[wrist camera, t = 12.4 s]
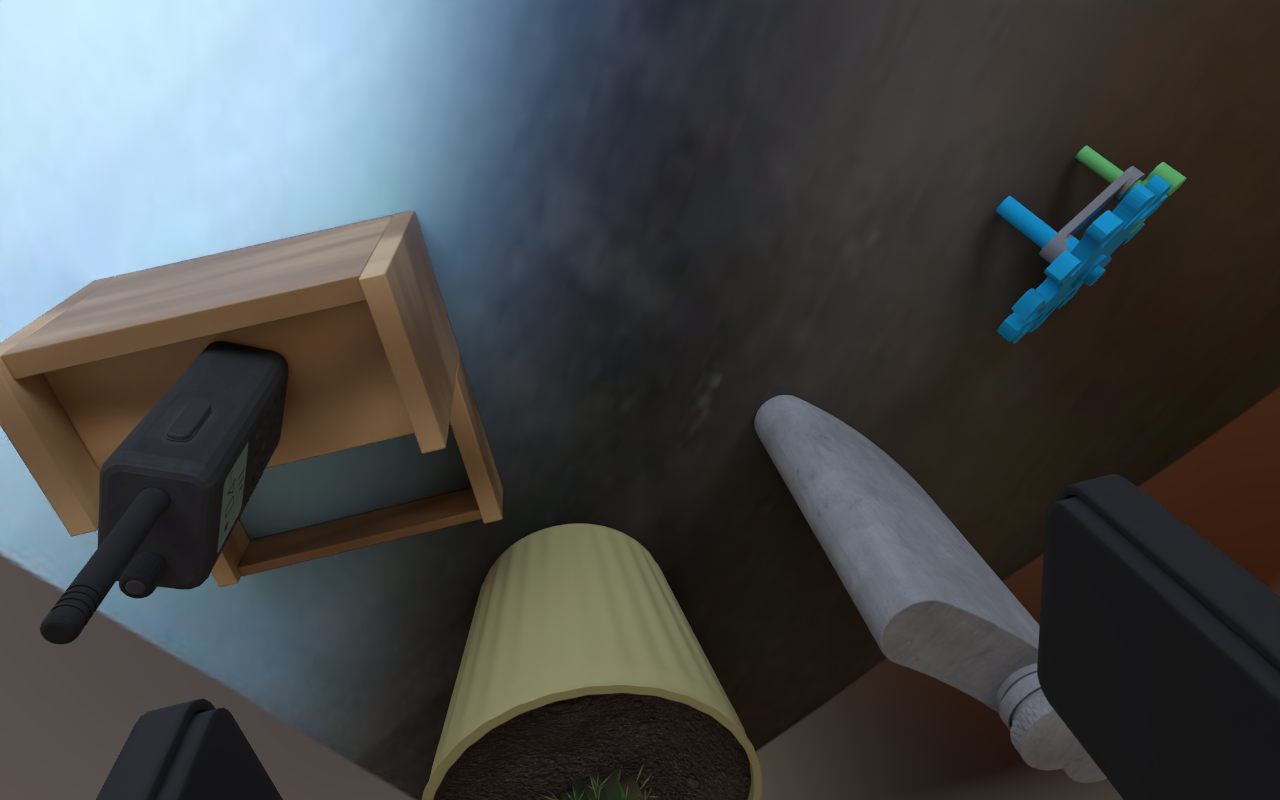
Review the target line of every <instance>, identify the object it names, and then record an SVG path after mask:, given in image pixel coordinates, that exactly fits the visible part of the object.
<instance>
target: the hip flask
mask: <svg viewBox="0 0 1280 800" xmlns="http://www.w3.org/2000/svg"><path fill="white" fill-rule="evenodd" d="M754 426H755V430H756V433H757V435H758V437H759V438H760V440H761V442H762V443H763V445H764V447H765V449H766V450H767V452H768V454H769V456H770V457H771V459H772V461H773V463H774V464H775V466H776V468H777V470H778V471H779V473H780V475H781V477H782V478H783V480H784V482H785V484H786V485H787V487H788V489H789V490H790V492H791V494H792V496H793V497H794V499H795V501H796V503H797V504H798V506H799V508H800V510H801V511H802V513H803V515H804V517H805V518H806V520H807V522H808V524H809V525H810V527H811V529H812V531H813V532H814V534H815V536H816V537H817V539H818V541H819V543H820V544H821V546H822V548H823V550H824V551H825V553H826V555H827V557H828V558H829V560H830V562H831V564H832V565H833V567H834V569H835V571H836V572H837V574H838V576H839V578H840V579H841V581H842V583H843V584H844V586H845V588H846V590H847V591H848V593H849V595H850V597H851V598H852V600H853V602H854V604H855V605H856V607H857V609H858V611H859V612H860V614H861V616H862V618H863V619H864V621H865V623H866V625H867V626H868V628H869V630H870V631H871V633H872V635H873V637H874V638H875V640H876V642H877V644H878V645H879V647H880V649H881V651H882V652H883V654H884V655H885V656H886V657H887V658H888V659H889V660H890V661H892V662H895V663H897V664H899V665H902V666H905V667H908V668H911V669H914V670H917V671H919V672H921V673H924V674H926V675H929V676H931V677H934V678H936V679H938V680H940V681H942V682H945V683H947V684H949V685H951V686H953V687H955V688H957V689H959V690H961V691H963V692H965V693H967V694H968V695H970V696H972V697H974V698H975V699H977V700H979V701H981V702H982V703H984V704H986V705H987V706H989V707H990V708H992V709H993V710H995V711H996V712H998V713H999V714H1000V717H1001V719H1002V720H1003V722H1004V723H1005V724H1006V725H1007V727H1008V729H1009V730H1010V732H1011V734H1010V737H1011V742H1012V743H1013V744H1014V747H1015V748H1016V750H1017V751H1018V752H1019V753H1020V755H1021V757H1022V758H1023V760H1025V761H1026V763H1027V764H1028V765H1030V766H1031V767H1032V768H1037V769H1038V770H1056V769H1063V770H1064V771H1065V772H1066V774H1067V775H1068V776H1069V777H1070V778H1071V779H1072V780H1075V781H1077V782H1081V783H1091V782H1097V781H1101V780H1104V779H1106V778H1107V777H1106V776H1105V775H1104V774H1103V772H1102V771H1101V770H1100V768H1099V767H1098V766H1097V765H1096V763H1095V762H1094V761H1093V759H1092V758H1091V757H1090V755H1089V754H1088V753H1087V752H1086V750H1085V749H1084V748H1083V746H1082V745H1081V744H1080V743H1079V741H1078V740H1077V739H1076V737H1075V736H1074V735H1073V733H1072V732H1071V731H1070V730H1069V728H1068V727H1067V726H1066V724H1065V723H1064V722H1063V721H1062V719H1061V718H1060V717H1059V715H1058V714H1057V713H1056V711H1055V710H1054V709H1053V708H1052V706H1051V705H1050V704H1049V702H1048V701H1047V699H1046V697H1045V695H1044V693H1043V691H1042V689H1041V686H1040V684H1039V680H1038V675H1037V662H1038V645H1039V628H1040V626H1039V624H1038V623H1037V622H1036V621H1035V620H1034V619H1033V618H1032V616H1031V615H1030V614H1029V613H1028V612H1027V610H1026V609H1025V608H1024V607H1023V606H1022V605H1021V604H1020V602H1019V601H1018V600H1017V599H1016V597H1014V595H1013V594H1012V593H1011V592H1010V590H1009V589H1008V588H1007V587H1006V586H1005V585H1004V583H1003V582H1002V581H1001V580H1000V579H999V578H998V576H997V575H996V574H995V573H994V572H993V570H992V569H991V568H990V567H989V566H988V565H987V563H986V562H985V561H984V560H983V559H982V558H981V556H980V555H979V554H978V553H977V552H976V551H975V549H974V548H973V547H972V546H971V545H970V543H969V542H968V541H967V540H966V539H965V538H964V536H963V535H962V534H961V533H960V532H959V531H958V529H957V528H956V527H955V526H954V525H953V523H952V522H951V521H950V520H949V519H948V518H947V516H946V515H945V514H944V513H943V512H942V511H941V509H940V508H939V507H938V506H937V505H936V504H935V502H934V501H933V500H932V499H931V498H930V496H929V495H928V494H927V493H926V492H925V491H924V490H923V488H922V487H921V486H920V485H919V484H918V483H917V482H916V481H915V480H914V479H913V478H912V477H911V476H910V475H909V474H908V473H907V472H906V471H905V470H904V469H903V468H902V467H901V466H900V465H899V464H898V463H897V462H896V461H894V460H893V459H892V458H891V457H890V456H889V455H887V454H886V453H885V452H884V451H883V450H881V449H880V448H879V447H877V446H876V445H875V444H874V443H872V442H871V441H870V440H869V439H867V438H866V437H864V436H863V435H862V434H860V433H859V432H857V431H856V430H855V429H853V428H851V427H850V426H848V425H847V424H845V423H844V422H842V421H841V420H839V419H837V418H836V417H834V416H832V415H831V414H829V413H827V412H825V411H823V410H821V409H820V408H818V407H816V406H814V405H812V404H810V403H808V402H806V401H804V400H801V399H799V398H797V397H795V396H792V395H780V396H776V397H774V398H771V399H769V400H768V401H766V402H765V403H764V404H763V405H762V406H761V407H760V409H759V410H758V412H757V414H756V417H755V422H754Z"/></svg>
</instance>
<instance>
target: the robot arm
mask: <svg viewBox="0 0 1280 800" xmlns="http://www.w3.org/2000/svg"><path fill="white" fill-rule="evenodd" d="M1037 675H1038V680H1039V684H1040V686H1041V689H1042V691H1043V693H1044V695H1045V697H1046V699H1047V701H1048V702H1049V704H1050V705H1051V706H1052V708H1053V709H1054V710H1055V711H1056V713H1057V714H1058V715H1059V717H1060V718H1061V719H1062V721H1063V722H1064V723H1065V724H1066V726H1067V727H1068V728H1069V730H1070V731H1071V732H1072V733H1073V735H1074V736H1075V737H1076V739H1077V740H1078V741H1079V743H1080V744H1081V745H1082V746H1083V748H1084V749H1085V750H1086V752H1087V753H1088V754H1089V755H1090V757H1091V758H1092V759H1093V761H1094V762H1095V763H1096V765H1097V766H1098V767H1099V768H1100V770H1101V771H1102V772H1103V774H1104V775H1105V776H1106V777H1107V779H1108V780H1109V781H1110V783H1111V784H1112V785H1113V787H1114V788H1115V789H1116V790H1117V791H1118V793H1119V794H1120V796H1121V797H1122V798H1123V799H1124V800H1280V596H1278V595H1277V594H1276V593H1274V592H1273V591H1272V590H1270V589H1269V588H1268V587H1267V586H1265V585H1264V584H1263V583H1261V582H1260V581H1259V580H1257V579H1256V578H1255V577H1253V576H1252V575H1251V574H1250V573H1248V572H1247V571H1246V570H1244V569H1243V568H1242V567H1241V566H1239V565H1238V564H1237V563H1235V562H1234V561H1233V560H1231V559H1230V558H1229V557H1228V556H1226V555H1225V554H1224V553H1222V552H1221V551H1220V550H1218V549H1217V548H1216V547H1214V546H1213V545H1212V544H1211V543H1209V542H1208V541H1207V540H1205V539H1204V538H1203V537H1202V536H1200V535H1199V534H1198V533H1196V532H1195V531H1194V530H1192V529H1191V528H1190V527H1188V526H1187V525H1186V524H1185V523H1183V522H1182V521H1180V520H1179V519H1178V518H1177V517H1175V516H1174V515H1173V514H1171V513H1170V512H1169V511H1168V510H1166V509H1165V508H1164V507H1162V506H1161V505H1160V504H1159V503H1157V502H1156V501H1155V500H1153V499H1152V498H1151V497H1149V496H1148V495H1147V494H1145V493H1144V492H1143V491H1141V490H1140V489H1139V488H1138V487H1136V486H1135V485H1134V484H1133V483H1131V482H1130V481H1129V480H1127V479H1125V478H1124V477H1122V476H1120V475H1114V474H1111V475H1107V476H1103V477H1099V478H1095V479H1091V480H1087V481H1083V482H1079V483H1075V484H1071V485H1067V486H1065V487H1062V489H1061V490H1060V492H1059V493H1058V498H1057V501H1056V502H1053V503H1051V504H1050V505H1049V506H1048V508H1047V512H1046V526H1045V543H1044V561H1043V577H1042V594H1041V612H1040V628H1039V645H1038V662H1037ZM96 800H283V799H282V798H281V796H280V794H279V793H278V791H277V789H276V787H275V786H274V784H273V782H272V781H271V779H270V778H269V776H268V774H267V772H266V771H265V769H264V768H263V766H262V764H261V762H260V761H259V759H258V758H257V756H256V754H255V753H254V751H253V749H252V747H251V746H250V744H249V742H248V741H247V739H246V737H245V736H244V734H243V732H242V731H241V729H240V727H239V726H238V724H237V723H236V721H235V719H234V718H233V716H232V714H231V713H230V712H229V711H228V710H226V709H225V708H219V709H215V708H214V706H213V705H212V704H211V703H210V702H208V701H207V700H205V699H201V700H200V699H199V700H194V701H190V702H186V703H182V704H178V705H173V706H169V707H165V708H161V709H158V710H154V711H149V712H147V713H145V714H144V715H143V716H141V717H140V718H139V720H138V721H137V723H136V724H135V726H134V727H133V729H132V731H131V733H130V735H129V737H128V739H127V741H126V743H125V745H124V747H123V749H122V751H121V752H120V755H119V756H118V758H117V760H116V762H115V764H114V766H113V768H112V770H111V772H110V774H109V776H108V777H107V779H106V781H105V783H104V785H103V787H102V789H101V791H100V793H99V795H98V797H97V799H96Z"/></svg>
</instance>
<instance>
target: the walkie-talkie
mask: <svg viewBox="0 0 1280 800" xmlns="http://www.w3.org/2000/svg"><path fill="white" fill-rule="evenodd" d="M288 374H289V370H288V364H287V362H286V360H285V358H284V357H283V356H282V355H281V354H279V353H277V352H274V351H271V350H266V349H261V348H256V347H251V346H246V345H241V344H236V343H231V342H226V341H216V342H213V343H211V344H209V345H208V346H207V347H206V348H205V349H204V350H203V351H202V352H201V354H200V355H199V356H198V357H197V358H196V359H195V360H194V361H193V363H192V364H191V365H190V366H189V367H188V368H187V369H186V370H185V372H184V373H183V374H182V375H181V376H180V377H179V378H178V379H177V381H176V382H175V383H174V384H173V385H172V386H171V387H170V388H169V390H168V391H167V392H166V393H165V394H164V395H163V396H162V398H161V399H160V400H159V401H158V402H157V403H156V404H155V405H154V407H153V408H152V409H151V410H150V411H149V412H148V413H147V414H146V416H145V417H144V418H143V419H142V420H141V421H140V422H139V423H138V425H137V426H136V427H135V428H134V429H133V430H132V431H131V432H130V434H129V435H128V436H127V437H126V438H125V439H124V440H123V441H122V443H121V444H120V445H119V446H118V447H117V448H116V449H115V450H114V452H113V453H112V454H111V455H110V456H109V457H108V458H107V460H106V461H105V462H104V463H103V465H102V468H101V472H100V485H99V521H98V549H97V550H96V552H95V553H94V554H93V556H92V557H91V558H90V560H89V561H88V562H87V564H86V565H85V566H84V568H83V569H82V570H81V571H80V573H79V574H78V575H77V577H76V578H75V579H74V581H73V582H72V583H71V585H70V586H69V587H68V589H67V590H66V592H65V593H64V594H63V595H62V597H61V598H60V599H59V601H58V602H57V603H56V605H55V606H54V607H53V608H52V610H51V611H50V613H49V614H48V615H47V616H46V618H45V619H44V620H43V622H42V624H41V627H40V632H41V634H42V636H43V637H44V638H45V639H46V640H48V641H49V642H51V643H55V644H66V643H70V642H72V641H73V640H75V639H76V638H77V637H78V636H79V634H80V633H81V631H82V630H83V628H84V626H85V625H86V624H87V623H88V621H89V619H90V618H91V617H92V615H93V613H94V612H95V611H96V609H97V608H98V606H99V605H100V604H101V602H102V601H103V599H104V598H105V596H106V595H107V593H108V592H109V590H110V589H111V587H112V586H113V584H114V583H115V582H116V581H119V587H120V589H121V591H122V592H123V593H124V594H125V595H127V596H129V597H132V598H144V597H147V596H149V595H150V594H151V593H153V591H154V590H155V588H156V587H157V586H159V587H167V588H175V589H192V588H195V587H197V586H200V585H201V584H202V583H203V582H204V581H205V580H206V579H207V578H208V577H209V575H210V573H211V571H212V569H213V567H214V565H215V563H216V561H217V559H218V558H219V556H220V554H221V552H222V550H223V548H224V546H225V544H226V542H227V540H228V539H229V537H230V535H231V533H232V531H233V529H234V527H235V525H236V523H237V522H238V520H239V518H240V516H241V514H242V512H243V510H244V508H245V506H246V504H247V503H248V501H249V499H250V497H251V495H252V493H253V491H254V489H255V487H256V485H257V484H258V482H259V480H260V478H261V476H262V474H263V472H264V470H265V468H266V466H267V465H268V463H269V461H270V459H271V457H272V455H273V453H274V451H275V449H276V448H277V446H278V443H279V441H280V437H281V429H282V421H283V413H284V405H285V397H286V389H287V382H288Z"/></svg>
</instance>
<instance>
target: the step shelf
mask: <svg viewBox="0 0 1280 800" xmlns="http://www.w3.org/2000/svg"><path fill="white" fill-rule="evenodd" d="M216 341H226V342H231V343H236V344H241V345H246V346H251V347H256V348H261V349H266V350H271V351H274V352H277V353H279V354H281V355H282V356H283V357H284V358H285V360H286V362H287V364H288V370H289V374H288V382H287V389H286V397H285V405H284V413H283V421H282V429H281V437H280V441H279V443H278V446H277V448H276V449H275V451H274V453H273V455H272V457H271V459H270V461H269V463H268V465H267V466H266V468H269V467H273V466H277V465H281V464H286V463H290V462H294V461H298V460H303V459H307V458H311V457H316V456H320V455H324V454H328V453H333V452H337V451H341V450H345V449H350V448H354V447H358V446H362V445H367V444H371V443H375V442H380V441H384V440H388V439H392V438H397V437H401V436H405V435H409V434H414V433H415V436H416V439H417V441H418V444H419V447H420V449H421V452H422V453H427V452H432V451H436V450H440V449H444V448H446V443H447V435H448V428H449V421H450V424H451V427H452V430H453V433H454V436H455V439H456V442H457V445H458V448H459V451H460V454H461V457H462V460H463V463H464V465H465V468H466V471H467V474H468V477H469V480H470V483H471V486H472V488H469V489H465V490H461V491H456V492H452V493H448V494H444V495H440V496H435V497H431V498H427V499H423V500H419V501H414V502H410V503H406V504H402V505H398V506H393V507H389V508H385V509H381V510H377V511H372V512H368V513H364V514H360V515H356V516H351V517H347V518H343V519H339V520H335V521H330V522H326V523H322V524H318V525H314V526H309V527H305V528H301V529H297V530H293V531H288V532H284V533H280V534H276V535H272V536H267V537H263V538H259V539H255V540H251V541H250V540H249V538H248V536H247V534H246V532H245V530H244V528H243V526H242V524H241V522H240V520H238V522H237V523H236V525H235V527H234V529H233V531H232V533H231V535H230V537H229V539H228V540H227V542H226V544H225V546H224V548H223V550H222V552H221V554H220V556H219V558H218V559H217V561H216V563H215V565H214V567H213V569H212V571H211V573H212V575H213V577H214V578H215V580H216V582H217V584H218V586H219V587H223V586H227V585H231V584H235V583H238V582H239V579H240V577H241V576H246V575H250V574H254V573H258V572H263V571H267V570H271V569H275V568H279V567H283V566H288V565H292V564H296V563H300V562H304V561H308V560H313V559H317V558H321V557H325V556H329V555H333V554H338V553H342V552H346V551H350V550H354V549H358V548H363V547H367V546H371V545H375V544H379V543H383V542H388V541H392V540H396V539H400V538H404V537H408V536H412V535H417V534H421V533H425V532H429V531H433V530H437V529H442V528H446V527H450V526H454V525H458V524H462V523H467V522H471V521H475V520H479V519H483V521H484V523H489V522H493V521H497V520H502V515H503V488H502V485H501V482H500V479H499V475H498V472H497V469H496V466H495V463H494V460H493V457H492V453H491V450H490V447H489V444H488V441H487V438H486V435H485V431H484V428H483V425H482V422H481V419H480V416H479V413H478V409H477V406H476V403H475V400H474V397H473V394H472V391H471V387H470V384H469V381H468V378H467V375H466V372H465V369H464V365H463V362H462V359H461V356H460V354H459V350H458V347H457V344H456V340H455V337H454V334H453V331H452V328H451V325H450V322H449V318H448V315H447V312H446V309H445V306H444V303H443V300H442V296H441V293H440V290H439V287H438V284H437V281H436V278H435V274H434V271H433V268H432V265H431V262H430V259H429V256H428V252H427V249H426V246H425V243H424V240H423V237H422V234H421V230H420V227H419V224H418V221H417V218H416V215H415V212H414V211H413V210H412V211H408V212H403V213H399V214H394V215H389V216H385V217H380V218H376V219H371V220H367V221H362V222H358V223H353V224H349V225H344V226H340V227H335V228H331V229H326V230H321V231H317V232H312V233H308V234H303V235H299V236H294V237H290V238H285V239H281V240H276V241H272V242H267V243H263V244H258V245H254V246H249V247H245V248H240V249H236V250H231V251H227V252H222V253H218V254H213V255H208V256H204V257H199V258H195V259H190V260H186V261H181V262H177V263H172V264H168V265H163V266H159V267H154V268H150V269H145V270H141V271H136V272H132V273H127V274H123V275H118V276H115V277H109V278H104V279H100V280H95V281H93V282H91V283H90V284H88V285H87V286H85V287H84V288H82V289H81V290H79V291H78V292H76V293H75V294H73V295H72V296H70V297H69V298H67V299H66V300H64V301H63V302H61V303H60V304H58V305H57V306H55V307H54V308H52V309H51V310H49V311H48V312H46V313H45V314H43V315H42V316H40V317H39V318H37V319H36V320H34V321H33V322H31V323H30V324H28V325H27V326H25V327H24V328H22V329H21V330H19V331H18V332H16V333H15V334H13V335H12V336H10V337H9V338H7V339H6V340H4V341H3V342H1V343H0V425H1V427H2V429H3V430H4V432H5V433H6V435H7V436H8V438H9V440H10V441H11V443H12V444H13V446H14V447H15V449H16V451H17V452H18V454H19V455H20V457H21V458H22V460H23V462H24V463H25V465H26V466H27V468H28V469H29V471H30V473H31V474H32V476H33V477H34V479H35V480H36V482H37V483H38V485H39V487H40V488H41V490H42V491H43V493H44V494H45V496H46V498H47V499H48V501H49V502H50V504H51V505H52V507H53V509H54V510H55V512H56V513H57V515H58V516H59V518H60V520H61V521H62V523H63V524H64V526H65V527H66V529H67V531H68V532H69V534H70V535H71V536H76V535H80V534H84V533H89V532H93V531H96V530H97V529H98V521H99V485H100V472H101V468H102V465H103V463H104V462H105V461H106V460H107V458H108V457H109V456H110V455H111V454H112V453H113V452H114V450H115V449H116V448H117V447H118V446H119V445H120V444H121V443H122V441H123V440H124V439H125V438H126V437H127V436H128V435H129V434H130V432H131V431H132V430H133V429H134V428H135V427H136V426H137V425H138V423H139V422H140V421H141V420H142V419H143V418H144V417H145V416H146V414H147V413H148V412H149V411H150V410H151V409H152V408H153V407H154V405H155V404H156V403H157V402H158V401H159V400H160V399H161V398H162V396H163V395H164V394H165V393H166V392H167V391H168V390H169V388H170V387H171V386H172V385H173V384H174V383H175V382H176V381H177V379H178V378H179V377H180V376H181V375H182V374H183V373H184V372H185V370H186V369H187V368H188V367H189V366H190V365H191V364H192V363H193V361H194V360H195V359H196V358H197V357H198V356H199V355H200V354H201V352H202V351H203V350H204V349H205V348H206V347H207V346H208V345H209V344H211V343H213V342H216Z"/></svg>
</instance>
